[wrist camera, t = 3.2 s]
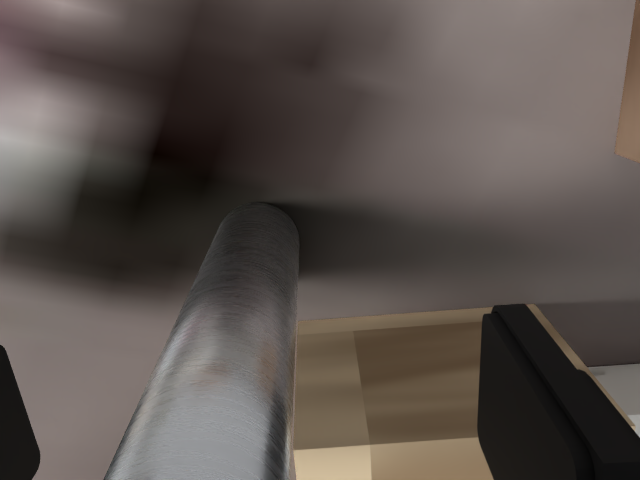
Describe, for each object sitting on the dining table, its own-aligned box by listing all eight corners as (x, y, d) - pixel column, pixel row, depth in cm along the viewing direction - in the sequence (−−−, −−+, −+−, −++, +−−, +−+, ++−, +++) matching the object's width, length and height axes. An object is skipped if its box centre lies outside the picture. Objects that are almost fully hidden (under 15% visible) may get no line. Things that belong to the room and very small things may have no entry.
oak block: (298, 319, 18) (293, 450, 12) (532, 301, 18) (635, 425, 12) (315, 493, 21) (318, 663, 15) (516, 479, 21) (593, 644, 15)
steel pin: (211, 205, 16) (-10, 602, 5) (295, 199, 16) (267, 583, 5) (223, 281, 17) (60, 756, 6) (302, 275, 17) (293, 742, 6)
